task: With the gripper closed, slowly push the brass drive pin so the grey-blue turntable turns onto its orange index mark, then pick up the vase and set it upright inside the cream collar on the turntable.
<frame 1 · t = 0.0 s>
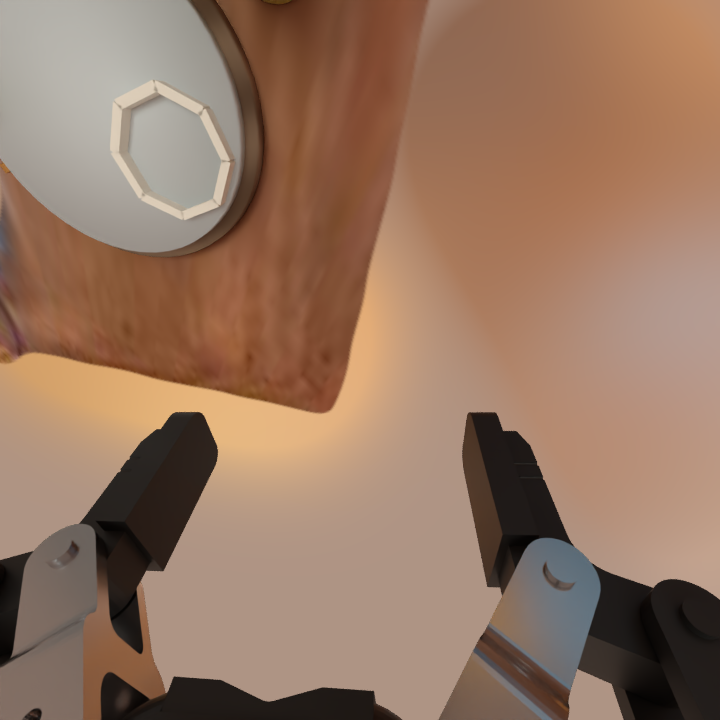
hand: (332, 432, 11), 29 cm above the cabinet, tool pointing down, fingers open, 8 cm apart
turntable base: (129, 116, 32), on the cabinet
turntable: (92, 117, 28), point 5 cm above the cabinet, hinge at -30.0°
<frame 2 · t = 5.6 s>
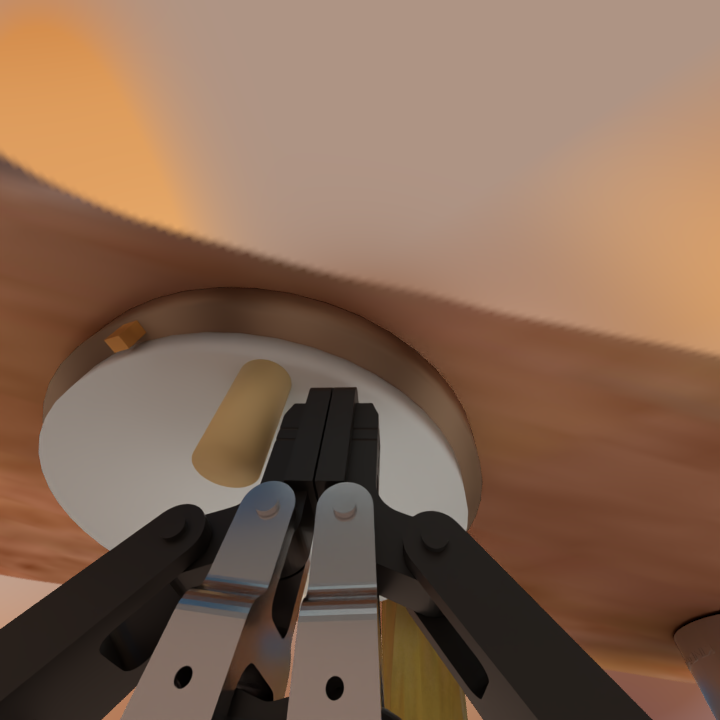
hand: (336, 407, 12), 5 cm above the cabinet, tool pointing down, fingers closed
vase: (417, 582, 30), on the cabinet
turntable base: (275, 468, 22), on the cabinet
turntable: (251, 545, 18), point 5 cm above the cabinet, hinge at -30.0°, touching gripper
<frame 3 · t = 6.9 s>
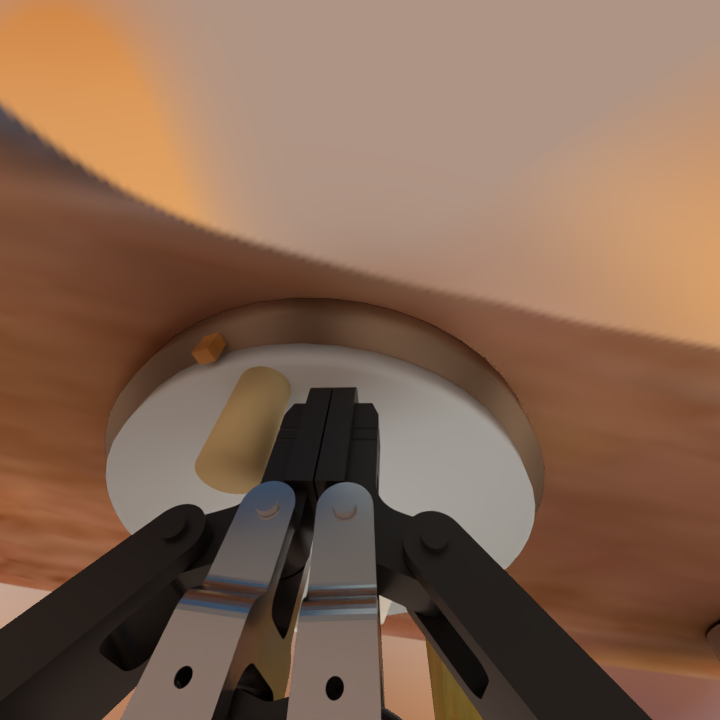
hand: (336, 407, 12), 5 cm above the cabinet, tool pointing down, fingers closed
vase: (456, 587, 30), on the cabinet
turntable base: (328, 475, 22), on the cabinet
turntable: (316, 554, 18), point 5 cm above the cabinet, hinge at -10.5°, touching gripper
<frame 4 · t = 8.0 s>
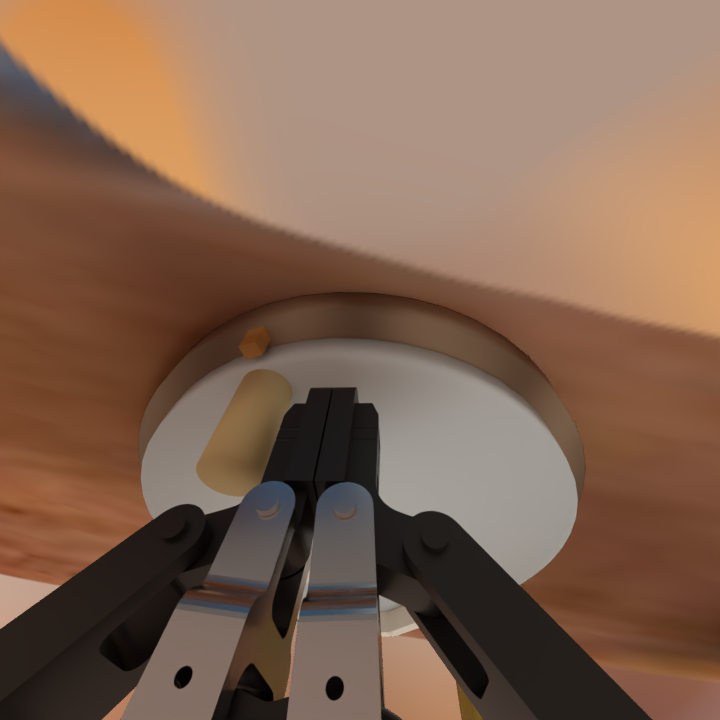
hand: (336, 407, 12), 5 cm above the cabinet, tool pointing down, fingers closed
vase: (478, 588, 30), on the cabinet
turntable base: (357, 474, 22), on the cabinet
turntable: (351, 553, 18), point 5 cm above the cabinet, hinge at 0.1°, touching gripper
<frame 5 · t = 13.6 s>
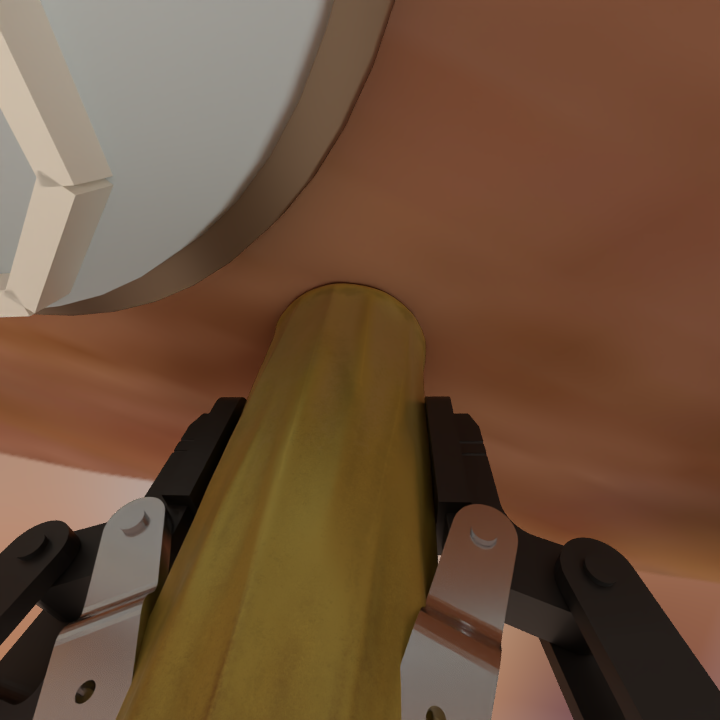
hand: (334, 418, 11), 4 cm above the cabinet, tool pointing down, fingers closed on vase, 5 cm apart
vase: (350, 348, 15), on the cabinet, touching gripper
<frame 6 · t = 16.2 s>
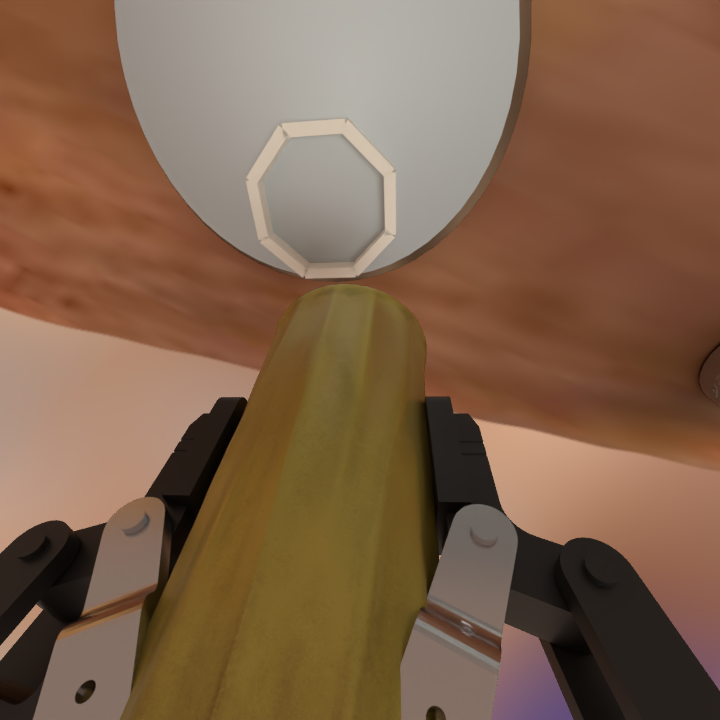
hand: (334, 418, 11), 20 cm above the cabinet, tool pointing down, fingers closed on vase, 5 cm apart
vase: (351, 349, 15), point 16 cm above the cabinet, touching gripper
turntable base: (324, 93, 23), on the cabinet
turntable: (308, 89, 19), point 5 cm above the cabinet, hinge at 0.1°
when the fingers open (9 cm above the cabinet, at t = 19.1 s): vase drops 1 cm, resting on turntable.
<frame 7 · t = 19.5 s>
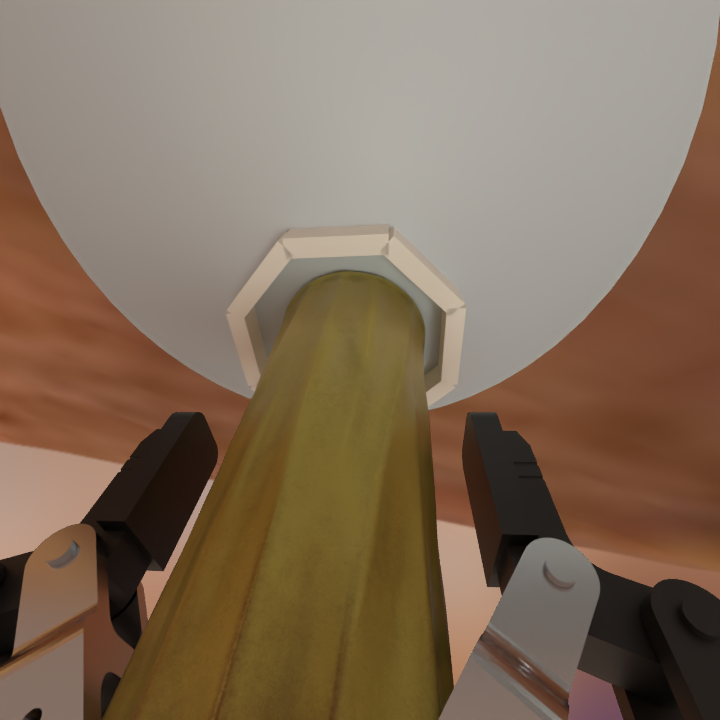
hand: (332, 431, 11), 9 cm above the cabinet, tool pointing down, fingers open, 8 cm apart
vase: (354, 334, 16), point 3 cm above the cabinet, touching turntable
turntable: (329, 191, 11), point 5 cm above the cabinet, hinge at -0.2°, touching vase
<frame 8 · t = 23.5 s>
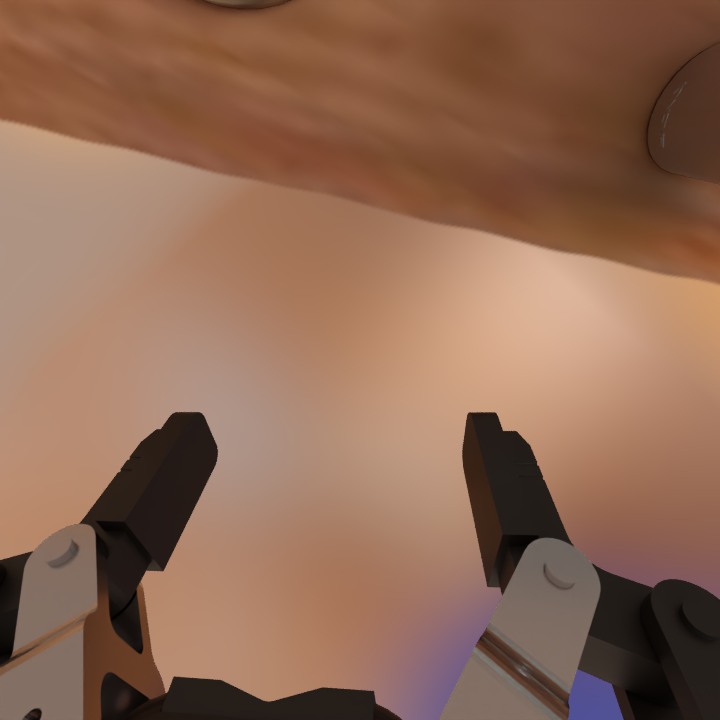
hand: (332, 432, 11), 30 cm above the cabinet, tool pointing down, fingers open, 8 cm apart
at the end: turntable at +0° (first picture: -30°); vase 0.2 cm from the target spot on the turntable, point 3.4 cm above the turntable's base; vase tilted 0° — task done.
